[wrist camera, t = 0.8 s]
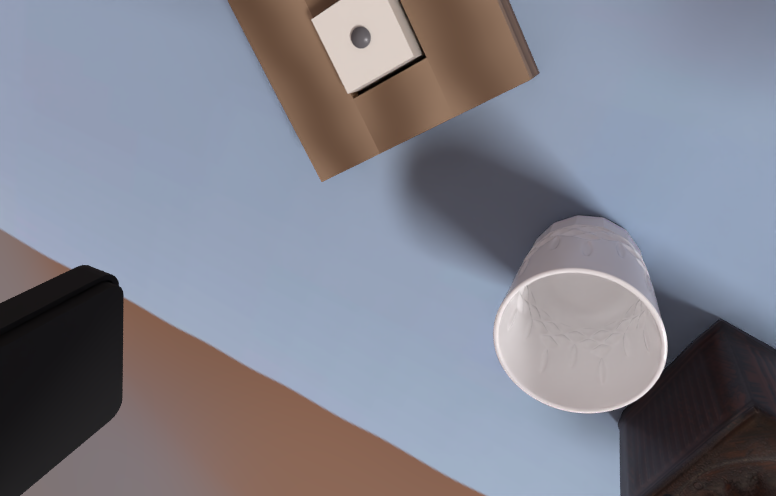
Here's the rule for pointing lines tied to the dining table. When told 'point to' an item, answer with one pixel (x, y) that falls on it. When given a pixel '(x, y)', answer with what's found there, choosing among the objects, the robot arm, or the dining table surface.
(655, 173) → the dining table surface
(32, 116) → the dining table surface
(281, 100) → the button board
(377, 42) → the button one
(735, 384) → the manual coffee grinder
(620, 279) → the white cup
